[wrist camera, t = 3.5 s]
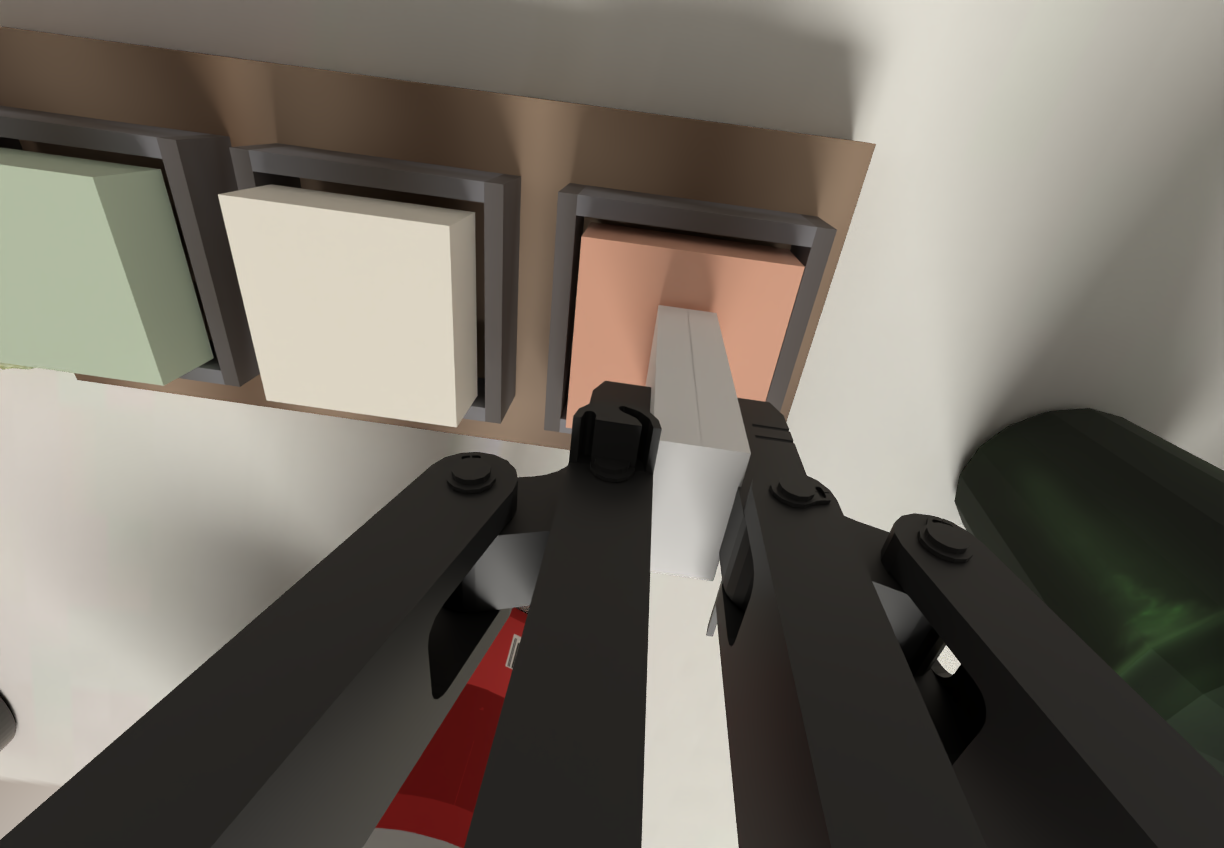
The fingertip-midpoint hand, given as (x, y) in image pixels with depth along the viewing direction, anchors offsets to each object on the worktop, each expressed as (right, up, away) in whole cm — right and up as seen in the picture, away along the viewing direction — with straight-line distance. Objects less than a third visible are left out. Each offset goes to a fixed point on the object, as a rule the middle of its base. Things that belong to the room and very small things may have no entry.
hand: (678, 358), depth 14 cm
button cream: (-8, +2, +1) cm, 9 cm away
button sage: (-17, +3, +1) cm, 17 cm away
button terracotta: (0, +1, +2) cm, 2 cm away
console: (-8, +4, +5) cm, 10 cm away
